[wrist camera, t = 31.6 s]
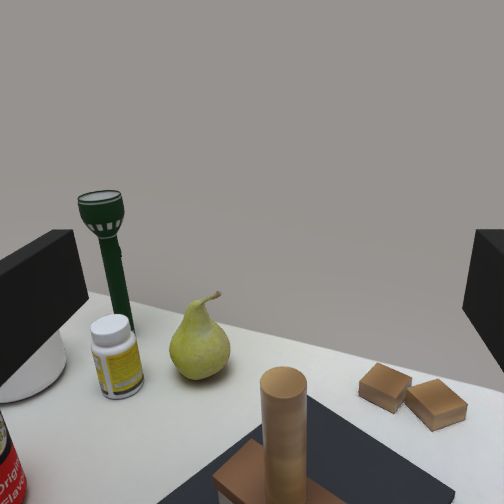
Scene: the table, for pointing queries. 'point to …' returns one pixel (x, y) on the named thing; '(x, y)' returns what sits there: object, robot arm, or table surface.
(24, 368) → the cup
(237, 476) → the brush
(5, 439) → the beverage can
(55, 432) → the table surface
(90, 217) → the flashlight
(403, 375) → the chip
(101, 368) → the supplement bottle
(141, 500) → the table surface
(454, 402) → the chip
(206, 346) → the fruit
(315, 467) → the mat
